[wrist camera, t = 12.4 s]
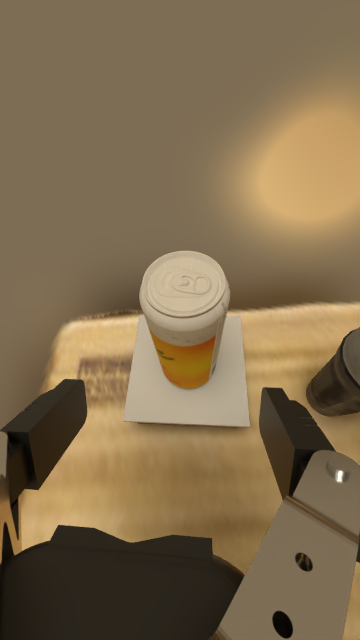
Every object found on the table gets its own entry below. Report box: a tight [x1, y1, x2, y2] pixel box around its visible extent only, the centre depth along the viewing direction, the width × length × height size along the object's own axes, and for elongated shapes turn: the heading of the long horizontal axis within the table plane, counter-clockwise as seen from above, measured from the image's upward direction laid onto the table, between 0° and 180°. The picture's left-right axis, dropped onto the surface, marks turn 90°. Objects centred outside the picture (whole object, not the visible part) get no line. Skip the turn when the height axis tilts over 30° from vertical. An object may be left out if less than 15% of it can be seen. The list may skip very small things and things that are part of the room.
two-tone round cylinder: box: [139, 251, 230, 389], centre depth 22 cm, size 6×6×15 cm
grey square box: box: [123, 315, 250, 428], centre depth 31 cm, size 13×13×5 cm
